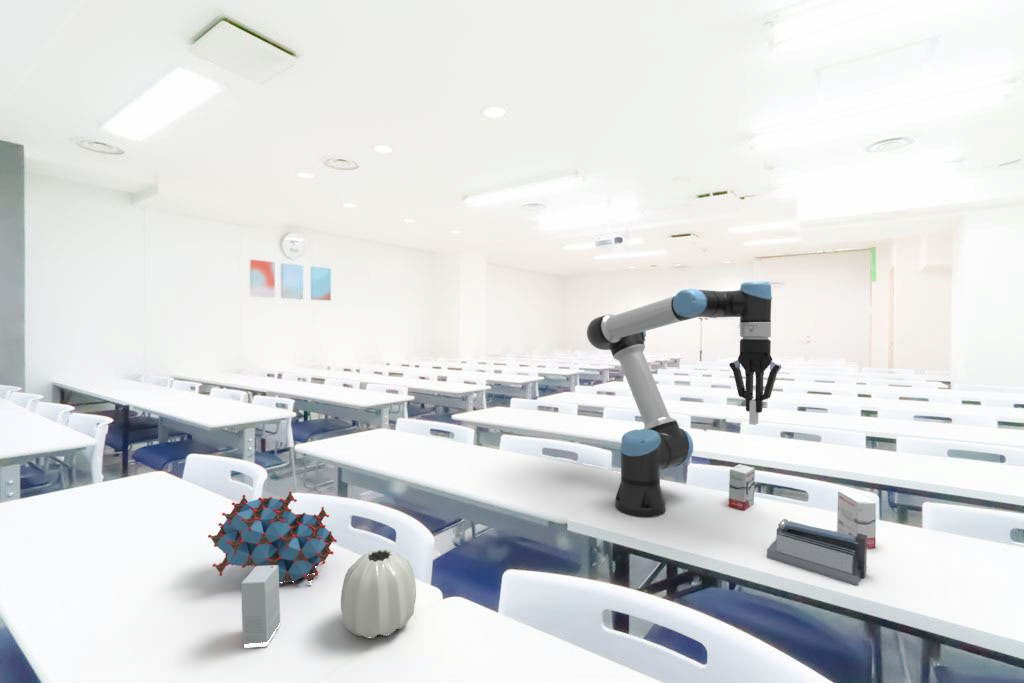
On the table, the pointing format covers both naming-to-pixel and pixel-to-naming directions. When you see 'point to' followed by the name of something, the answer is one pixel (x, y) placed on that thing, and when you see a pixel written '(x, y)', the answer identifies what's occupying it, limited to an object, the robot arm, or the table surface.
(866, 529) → the ink box
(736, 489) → the ink box
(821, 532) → the blue long flat bar
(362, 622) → the vase
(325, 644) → the table surface
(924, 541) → the table surface
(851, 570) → the heatsink
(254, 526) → the molecule model
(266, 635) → the skincare box
